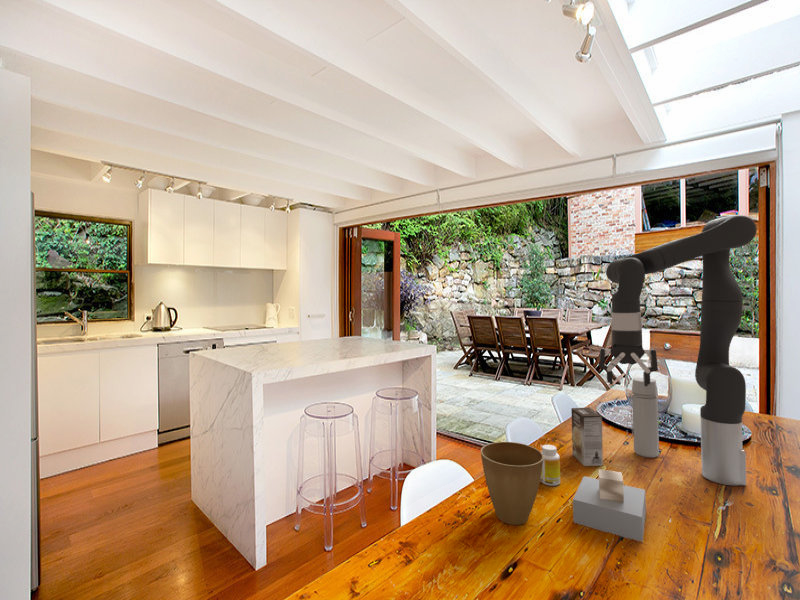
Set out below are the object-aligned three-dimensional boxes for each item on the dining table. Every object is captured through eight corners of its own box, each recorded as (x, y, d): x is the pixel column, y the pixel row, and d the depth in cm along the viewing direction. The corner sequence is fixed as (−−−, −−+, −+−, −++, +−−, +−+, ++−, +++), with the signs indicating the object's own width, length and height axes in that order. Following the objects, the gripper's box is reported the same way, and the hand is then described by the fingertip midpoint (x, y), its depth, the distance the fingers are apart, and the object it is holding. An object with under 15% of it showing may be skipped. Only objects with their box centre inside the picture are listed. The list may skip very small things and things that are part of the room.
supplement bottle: (564, 483, 111) (563, 448, 111) (550, 488, 109) (549, 452, 109) (549, 476, 116) (548, 442, 116) (535, 480, 114) (534, 445, 114)
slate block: (645, 513, 96) (645, 489, 96) (642, 544, 85) (641, 516, 84) (584, 498, 104) (583, 476, 104) (573, 524, 93) (572, 499, 93)
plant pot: (512, 542, 86) (510, 470, 86) (470, 510, 99) (468, 448, 99) (559, 522, 93) (557, 456, 92) (514, 495, 106) (512, 437, 106)
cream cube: (622, 492, 95) (621, 472, 95) (623, 502, 90) (623, 481, 90) (599, 488, 97) (598, 469, 97) (599, 498, 93) (599, 477, 92)
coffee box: (571, 454, 131) (570, 407, 131) (590, 454, 131) (589, 406, 131) (583, 466, 122) (582, 415, 122) (604, 466, 122) (603, 415, 122)
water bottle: (659, 452, 131) (657, 378, 131) (659, 460, 124) (657, 383, 124) (627, 447, 136) (625, 376, 136) (626, 455, 129) (624, 380, 129)
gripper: (653, 327, 111) (655, 383, 111) (597, 327, 117) (599, 380, 117) (658, 329, 104) (660, 389, 104) (598, 329, 110) (600, 386, 110)
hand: (628, 384), depth 111 cm, fingers open, 8 cm apart
